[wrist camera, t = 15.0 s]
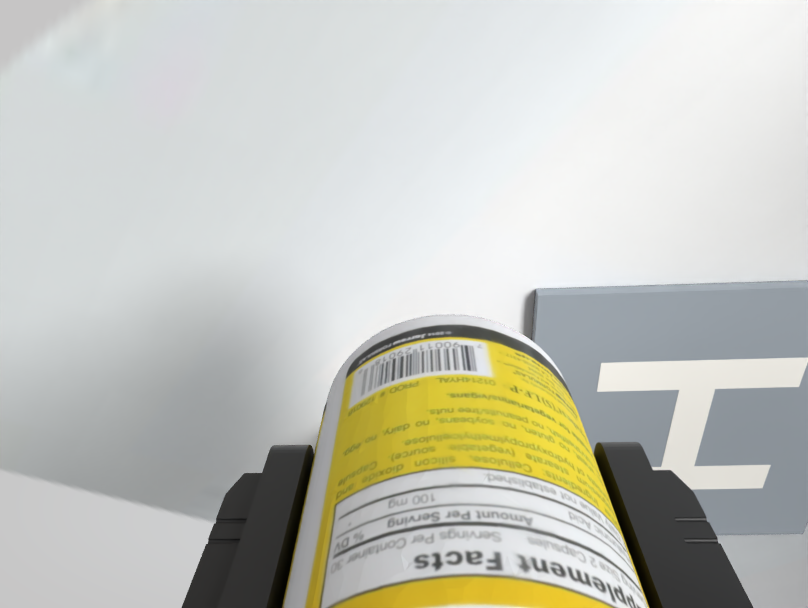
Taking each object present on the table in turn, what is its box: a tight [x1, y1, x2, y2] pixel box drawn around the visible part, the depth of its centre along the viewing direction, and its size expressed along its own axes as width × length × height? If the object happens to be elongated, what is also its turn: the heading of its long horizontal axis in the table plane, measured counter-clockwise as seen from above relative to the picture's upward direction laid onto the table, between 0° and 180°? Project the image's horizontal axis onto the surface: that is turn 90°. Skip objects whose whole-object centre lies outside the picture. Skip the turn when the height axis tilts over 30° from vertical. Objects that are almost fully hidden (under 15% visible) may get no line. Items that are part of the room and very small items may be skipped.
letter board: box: [532, 281, 808, 535], centre depth 28 cm, size 15×15×1 cm
